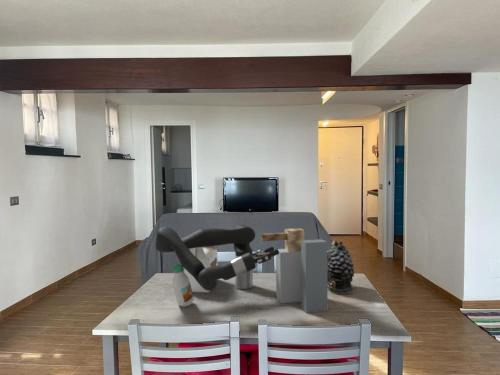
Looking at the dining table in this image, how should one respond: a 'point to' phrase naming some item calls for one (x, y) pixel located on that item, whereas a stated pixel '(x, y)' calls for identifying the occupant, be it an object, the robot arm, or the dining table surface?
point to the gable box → (208, 259)
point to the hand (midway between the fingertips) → (276, 249)
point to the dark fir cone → (339, 269)
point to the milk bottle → (182, 286)
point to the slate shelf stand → (303, 276)
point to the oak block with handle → (287, 238)
